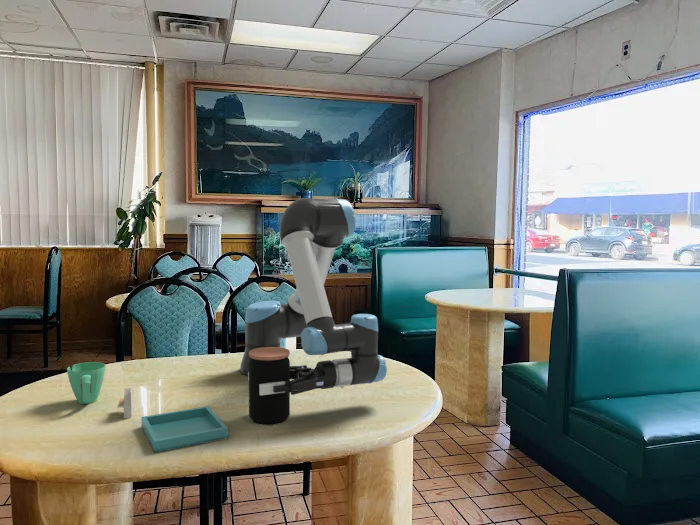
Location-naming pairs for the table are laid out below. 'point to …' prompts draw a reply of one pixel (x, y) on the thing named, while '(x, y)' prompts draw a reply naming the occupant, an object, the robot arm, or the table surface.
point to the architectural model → (127, 402)
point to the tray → (183, 428)
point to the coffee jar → (268, 369)
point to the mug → (86, 380)
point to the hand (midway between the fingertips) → (253, 383)
